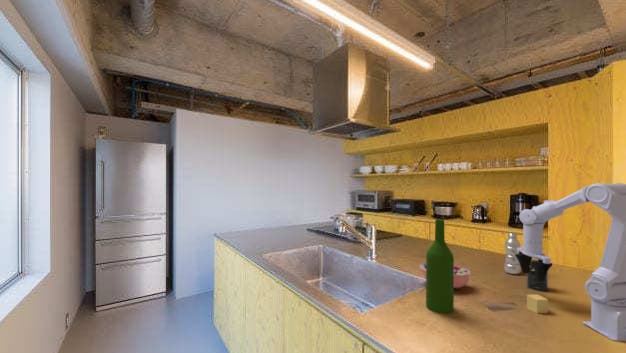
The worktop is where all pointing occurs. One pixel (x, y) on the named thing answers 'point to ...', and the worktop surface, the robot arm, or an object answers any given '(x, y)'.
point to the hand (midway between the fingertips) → (532, 276)
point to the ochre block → (537, 303)
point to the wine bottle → (439, 274)
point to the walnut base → (500, 306)
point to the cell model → (459, 275)
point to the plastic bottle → (512, 254)
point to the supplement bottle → (533, 282)
